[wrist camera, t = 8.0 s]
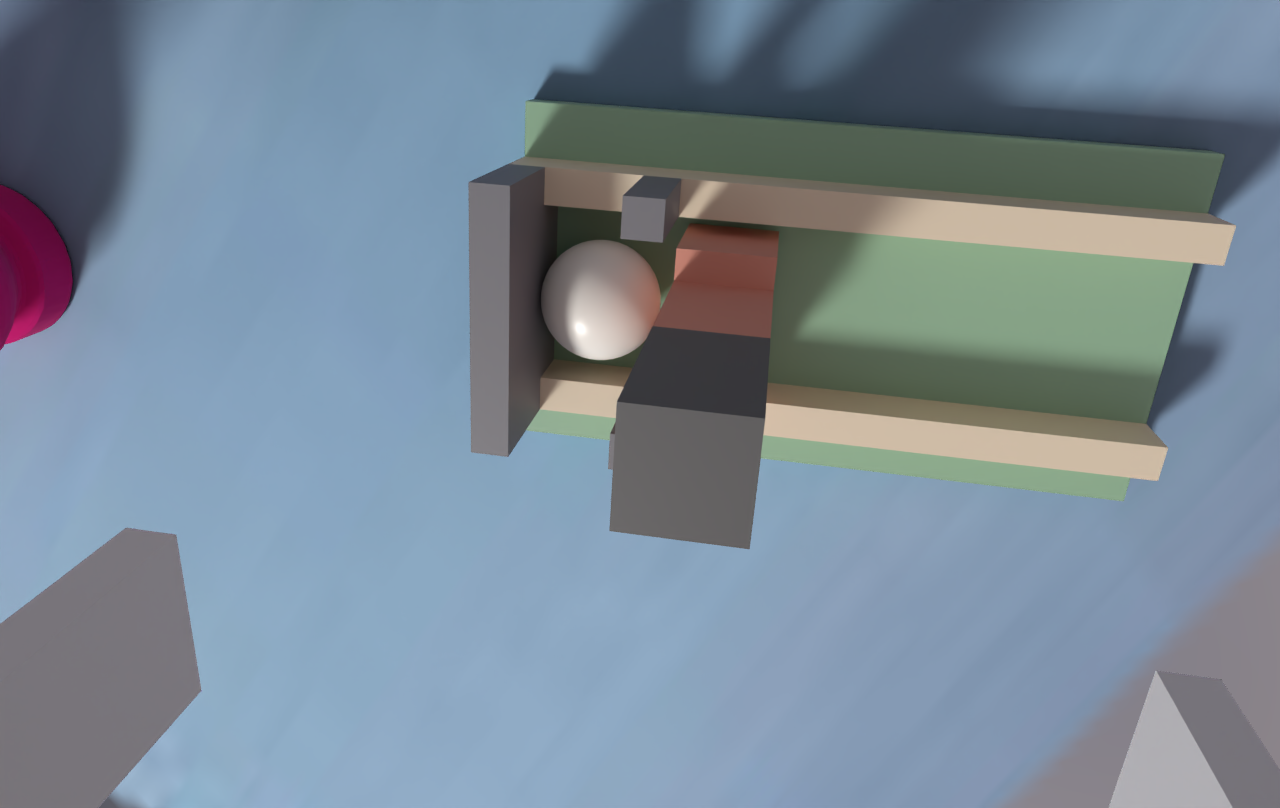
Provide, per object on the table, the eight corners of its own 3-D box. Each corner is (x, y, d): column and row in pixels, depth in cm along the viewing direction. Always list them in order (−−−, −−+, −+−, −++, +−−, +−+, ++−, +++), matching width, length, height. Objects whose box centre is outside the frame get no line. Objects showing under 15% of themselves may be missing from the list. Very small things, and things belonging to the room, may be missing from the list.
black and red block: (689, 222, 31) (619, 355, 18) (779, 231, 31) (771, 371, 18) (678, 362, 33) (607, 570, 20) (762, 371, 33) (744, 589, 20)
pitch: (533, 99, 32) (467, 115, 25) (1211, 150, 29) (1330, 183, 23) (527, 419, 36) (471, 502, 30) (1114, 488, 34) (1190, 595, 27)
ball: (537, 252, 28) (668, 258, 28) (546, 225, 32) (661, 231, 32) (535, 374, 30) (659, 380, 30) (543, 335, 33) (654, 341, 34)
